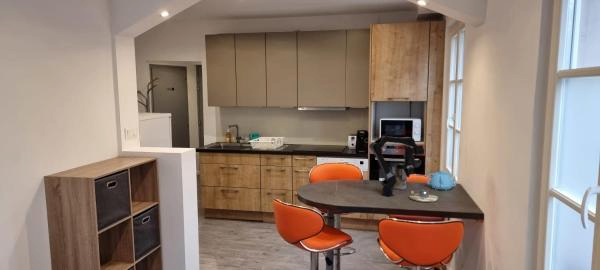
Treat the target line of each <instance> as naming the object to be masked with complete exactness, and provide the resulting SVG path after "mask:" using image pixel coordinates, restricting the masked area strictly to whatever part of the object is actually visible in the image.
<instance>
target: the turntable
mask: <svg viewBox="0 0 600 270" xmlns="http://www.w3.org/2000/svg"><path fill="white" fill-rule="evenodd" d="M414 192H415V191H414V190H410V194H409V199H411V200H413V201H417V202H422V203H423V202H424V203H425V202H427V203H431V202H432V203H433V202H437V201H439V198H438V197H439V196H437V195H435V194H432V193H429V197H428V198H422V197H419V192H415V193H414Z"/></svg>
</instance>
